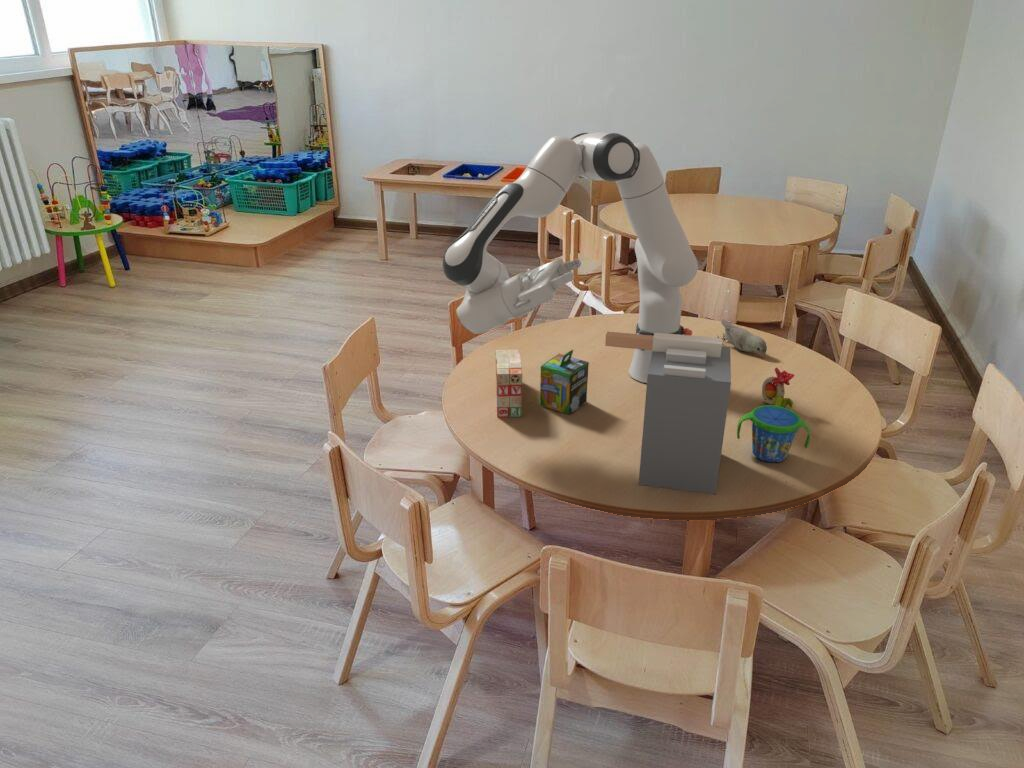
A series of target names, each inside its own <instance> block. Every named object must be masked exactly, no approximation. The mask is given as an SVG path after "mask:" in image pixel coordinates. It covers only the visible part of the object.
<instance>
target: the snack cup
mask: <svg viewBox="0 0 1024 768" xmlns="http://www.w3.org/2000/svg"><path fill="white" fill-rule="evenodd" d="M747 420H750V421H751V425H752V426H751V428H752V429H751V444H752V446H751V447H752V450H751V451H752V453H753V454H754V456H755V457H757V458H758V459H759V460H761V461H765V462H771V463H772V462H773V463H781V461H783V460H785V459H786V458H787V457H788V455H789V452H790V450H791V447H792V444H793V441H794V438H795V436H796V434H797V432H798V431H799V429H800V428H801V427H804V429H805V430H806V433H807V435H806V439H805V441H804V448H805V449H807V448H808V447H809V444H810V441H811V430H810V427H809V425H808V423H807V422H806V421H805V420H804V419H802V418H801V417H800V415H799V414H798V413H797V412H796V411H793V410H792V409H790V408H787V407H785V408H784V407H780V406H775V405H770V404H768V405H765V404H764V405H759V406H757V407H754V408H753V409H752V411H750V412H747V413H746V414H743V415H742V416H741V418H740V419H739V420H738V424H737V427H736V437H737V440H739V439H740V434H741V429H742V423H743V422H745V421H747Z"/></svg>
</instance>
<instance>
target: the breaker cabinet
mask: <svg viewBox="0 0 1024 768" xmlns="http://www.w3.org/2000/svg"><path fill="white" fill-rule="evenodd" d="M731 367H732V365H731V347H730V346H726V345H725V346H724V345H722V348H721V356H720V357H710V356H706V352H704V351H693V350H682V349H671V348H667V351H666V352H657V351H652V355H651V360H650V365H649V370H648V377H647V383H646V388H645V390H646V391H645V401H644V402H645V403H644V411H643V413H644V414H643V427H642V439H641V450H640V460H639V461H640V462H639V473H638V485H641V486H646V487H647V486H648V487H655V488H663V489H670V490H678V491H687V492H691V493H692V492H694V493H702V494H709V495H715V496H716V494H717V487H718V480H719V474H720V473H719V471H720V465H721V464H720V463H721V458H722V451H723V450H722V449H723V443H724V437H725V430H726V429H725V428H726V422H727V414H728V407H729V399H730V394H731V393H730V392H731V386H732V373H731V372H732V370H731V369H732V368H731Z"/></svg>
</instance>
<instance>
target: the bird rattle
mask: <svg viewBox="0 0 1024 768" xmlns="http://www.w3.org/2000/svg"><path fill="white" fill-rule="evenodd" d="M774 372H775V374H776V376H769V377H767V378H766V379H765V380H763V384H762V387H761V394H762V397H763V403H764V404H768V405H773V406H780V407H785V408H787V406H789V409H793V407H794V405H793V404H794V400H792V399H791V398H789V397H785V385H786V386H790V380H792V379H793V378H795V374H793V373H790V372H788V371H787V370H782V371H780V369H779V368H778V367H777V366H776V367H775V368H774Z"/></svg>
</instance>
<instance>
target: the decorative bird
mask: <svg viewBox="0 0 1024 768" xmlns="http://www.w3.org/2000/svg"><path fill="white" fill-rule="evenodd" d="M720 323H721V325H723V327H724V332H723V333H722V335H723V336H722V343H723V342H725V341H727V342H728V343H729V344H730V345H732V346H733V347H735V348H736V349H738V350H739V351H741V352H742V351H743V352H747V353H751V352H752V353H753V352H755V353H756V354H758V355H759V357H761V358H762V359H764V358H765V356H766V355H767V349H768V348H767V342H766V341H765V340H764V339H763V338H762V337H760V336H759V335H757V334H756V335H755V334H754V333H751V332H750V331H749V330H747V329H745V328H742V327H739V326H737V325H735V324H733V323H732V322H731V321H728V320H725V319H722V320H721V322H720ZM716 336H717V338H720V337H719V335H718V334H716Z"/></svg>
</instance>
